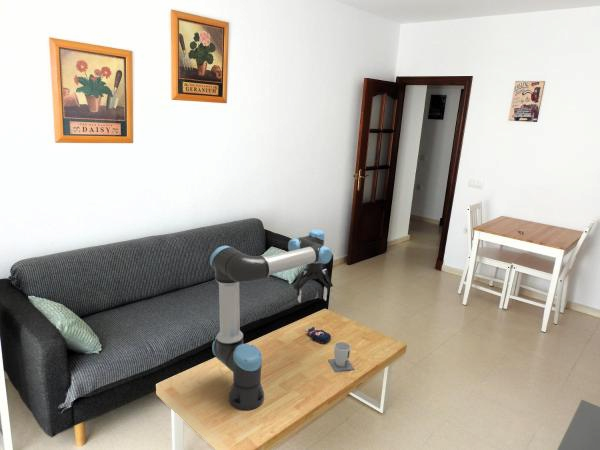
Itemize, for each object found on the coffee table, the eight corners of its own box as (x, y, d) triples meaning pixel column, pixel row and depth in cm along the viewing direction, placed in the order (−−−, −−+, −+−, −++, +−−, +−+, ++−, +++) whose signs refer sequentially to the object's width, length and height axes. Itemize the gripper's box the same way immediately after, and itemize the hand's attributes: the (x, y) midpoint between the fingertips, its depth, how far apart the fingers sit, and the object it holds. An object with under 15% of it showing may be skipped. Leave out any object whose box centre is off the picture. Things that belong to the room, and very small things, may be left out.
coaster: (335, 372, 212) (335, 370, 212) (328, 360, 221) (328, 359, 221) (354, 370, 215) (354, 368, 215) (346, 358, 224) (346, 357, 224)
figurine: (312, 323, 250) (333, 333, 241) (311, 330, 251) (332, 340, 242) (302, 329, 243) (323, 339, 234) (301, 335, 244) (323, 346, 235)
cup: (348, 369, 213) (350, 351, 211) (331, 367, 215) (333, 349, 212) (349, 360, 221) (351, 343, 218) (333, 358, 222) (335, 340, 220)
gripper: (292, 264, 210) (290, 305, 215) (341, 262, 217) (337, 301, 222) (288, 259, 217) (286, 298, 222) (335, 257, 224) (332, 295, 229)
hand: (312, 300), depth 222 cm, fingers open, 13 cm apart
